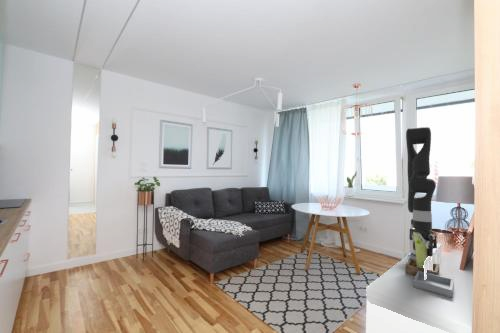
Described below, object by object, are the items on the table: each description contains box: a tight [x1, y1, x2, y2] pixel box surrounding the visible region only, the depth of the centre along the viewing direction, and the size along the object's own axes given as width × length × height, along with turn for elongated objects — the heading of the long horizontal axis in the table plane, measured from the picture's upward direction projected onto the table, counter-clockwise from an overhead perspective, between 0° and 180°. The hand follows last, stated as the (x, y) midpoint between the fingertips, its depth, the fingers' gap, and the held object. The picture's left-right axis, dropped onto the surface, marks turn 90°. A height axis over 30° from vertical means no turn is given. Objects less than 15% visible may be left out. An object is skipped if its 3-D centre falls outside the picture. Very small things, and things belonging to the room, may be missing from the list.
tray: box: [413, 271, 455, 299], centre depth 102 cm, size 13×13×3 cm
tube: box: [413, 232, 433, 268], centre depth 115 cm, size 6×5×20 cm
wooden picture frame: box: [405, 257, 440, 277], centre depth 115 cm, size 12×12×4 cm
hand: (422, 253), depth 115 cm, fingers open, 8 cm apart
